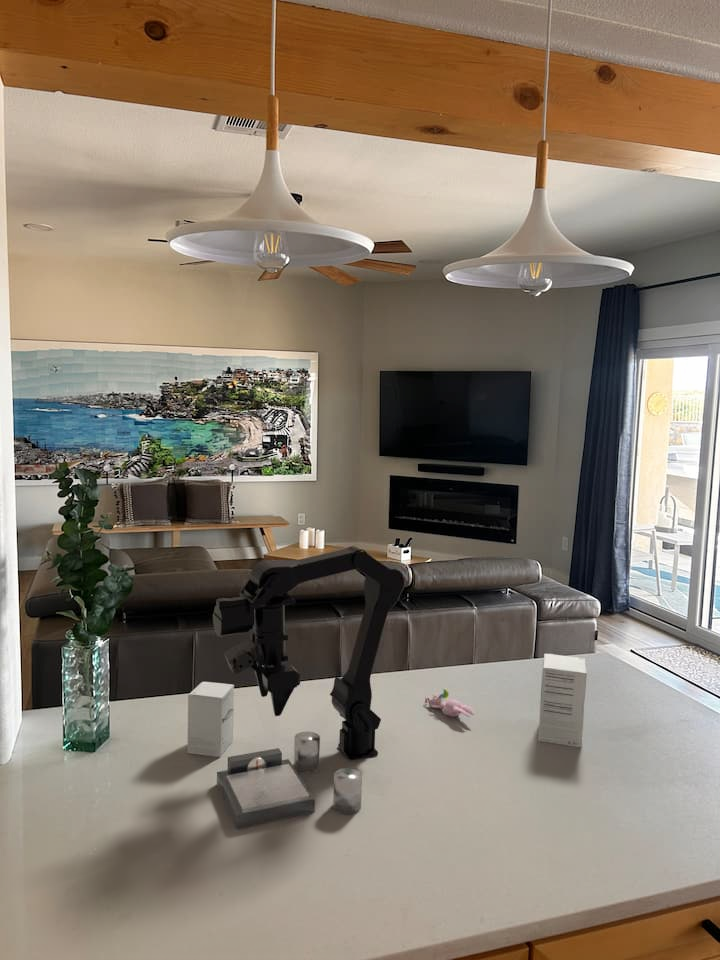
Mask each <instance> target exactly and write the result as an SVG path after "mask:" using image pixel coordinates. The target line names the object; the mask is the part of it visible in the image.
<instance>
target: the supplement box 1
mask: <svg viewBox="0 0 720 960" xmlns="http://www.w3.org/2000/svg"><path fill="white" fill-rule="evenodd" d="M234 693H235V684H231V683H230V684H229V683H222V682H211V681H202V682H200V683H199V684H198V685H197V686H196V687H195V688H194V689H193V690H192V691H191V692H189V694H188V695H187V750H186V751H187V754H193V755H201V756H205V757H214V758H221V756H222V755H223V754H224V752H225V751H226V749H228V747H229V746H230V745H231V744H232V742H233V741H234V711H235V709H234V708H235V707H234V706H235V705H234V701H235V700H234V699H235V694H234Z"/></svg>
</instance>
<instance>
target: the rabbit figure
mask: <svg viewBox="0 0 720 960" xmlns="http://www.w3.org/2000/svg"><path fill="white" fill-rule="evenodd" d="M442 691H443V693H440V695H439V696H437V695H435V696H434V695H433V694H432V698H429V697H426V696H425V697H424V698H425V699H424V702H423V703H424V704H425V705H426V704H427V703H428V706H429V707H430V709H440V710H442V713H443V715H445V716H448V717H457V716H460V715H461V714H462V715H464V716H466V717H468V718H469V717H470V715H472V716H475V712H474V709H473V708H472V707H471V706H469V705H464V704H462V703H461V702H460V701H458V700H456V699H450V700H448V701H447V702H445V699H446V698H448V697H449V691H448V690H447V689H445V688H442Z"/></svg>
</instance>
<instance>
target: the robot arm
mask: <svg viewBox="0 0 720 960" xmlns="http://www.w3.org/2000/svg"><path fill="white" fill-rule="evenodd" d="M354 570H355V571H356V572H357V573H358V574H360V576H363V578H364V585H363V593H364V599H365V607H364V609H363V613H362V617H361V621H360V625H359V628H358V632H357V636H356V639H355V642H354V646H353V649H352V650H353V651H352V654H351V657H350V661H349V666H348V669H347V671H346V673H344V674H343V675H342V677H339V676H335V678H334V681H333V687H332V689H331V692H330V693H329V695H330V697H331V705H332V706H333V708H334V709H335V711H337V712H338V714H339V716H340V717H341V718H343V719H344V720H342V722H341V729H339V740H338V741H339V743H338V745H337V746H338V748H339V749H340V750H341V752H342V753H343V754H344V755H345V756H346V758H347V759H348V760H350V761H353V760H358V759H363V758H368V757H373V756H378V755H379V752H378V750H377V749H376V748H375V744H376V730H378V729H379V727H380V724H381V721H382V719H381V717H379V715H377V714H376V713H375V712H374V711H373V710H372V709H371V706H372V699H373V694H372V686H371V676H372V672H373V669H374V665H375V661H376V657H377V654H378V650H379V647H380V643H381V640H382V636H383V633H384V629H385V624H386V621H387V618H388V615H389V611H390V610H391V609H392V608H393V607H394V606H395V605H396V604H397V602H398V601H399V599H400V597H401V595H402V592H403V591H404V588H405V584H406V583H405V582H406V579H405V577H404V575H403V573H402V572H401V571H400V570H398V569H397V568H394V567H392V566H391V565H390V566H389V565H387V564H385V563H383V562H380V561H379V560H377V559H376V558H374V557H373V556H371V555H370V554H369V553H368V552H367V551H366V550H364V549H363V548H360V547H357V546H355V545H354V546H353V545H351V546H348V547H346V548H344V549H340V550H339V549H338V550H334V551H330V552H326V553H321V554H317V555H314V556H308V557H304V558H301V559H295V560H294V559H293V560H288V559H270V560H269V559H267V560H261V561H258V562H257V563H255V564H254V566H253V567H252V569H251V571H250V575H249V576H250V577H249V578H248V579H247V581H246V583H245V584H244V586H243V587H242V589H241V591H239V596H237V597H229V598H227V597H221V598H217V599H216V600H215V601H216V603H215V606H214V610H213V613H212V623H213V629H214V632H215V634H216V636H217V637H226V636H231V635H239V634H245V633H249V631H250V630H252V631H251V633H249V634H250V635H249V636H250V639H249V640H246V641H243V642H241V643H239V644H236V645H235V646H233V647H230V648H229V649H227V650H226V651H224V653H223V655H224V658H225V660H226V662H227V664H228V667H229V669H230V670H231V672H232V673H233V674H234V675H238V674H240V673H242V672H244V671H245V670H248V669H249V668H251V669H253V670H254V671H253V672H254V674H255V678H256V682H257V685H258V689H259V692H260V696H261V698H264V697H267V696H268V694H269V693H270V698H271V703H272V708H273V713H274V716H275V717H279V716H282V714H283V711H284V709H285V708H286V706H287V703H288V701H289V698H290V697H291V695H292V694H293V691H294V690H295V688H297V687H298V686H300V685H301V673H299V671H297V669H296V668H295V667H294V666H293V665H291V664H290V663H287V664H283V663H282V662H289V655H288V654H287V653H286V641H288V639H289V634H288V633H287V632H286V631H285V629H286V628H285V625H286V623H285V619H286V618H285V606H286V605H287V606H288V605H293V604H295V603H296V600H295V599H294V598H292V597H291V595H290V594H289V593H288V592H291V591H293V590H294V589H295V588H296V587H298V586H299V585H301V584H302V583H303V584H304V583H305V582H309V581H313V580H318V579H321V578H326V577H330V576H334V575H337V574H342V573H347V572H350V571H354ZM257 591H258V592H257ZM253 628H254V630H253Z"/></svg>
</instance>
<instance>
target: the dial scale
mask: <svg viewBox="0 0 720 960" xmlns="http://www.w3.org/2000/svg"><path fill="white" fill-rule="evenodd" d="M216 785H217V787H218V790H219V792H220V795H221V797H222V799H223V801H224V803H225V806H226V808H227V810H228V812H229V815H230V816H231V819H232V821H233V824H234V826H235V828H236V829H242V828H248V827H253V826H256V825H262V824H265V823H270V822H274V821H279V820H283V819H288V818H292V817H297V816H298V817H299V816H302V815H307V814H311V813H315V811H316V808H315V807H316V798H315V797H314V795H313V794H312V792H311V790H310V789H309V788H308V787H307V784H306V783H305V781H304V780H303V779H302V777H301V776H300V774H299V773H298V771H297V770H296V769H295V768H294V764H292V762H291V760H290V759H288V758H286V759H283V752H282V751H281V749H280V747H277V748H273V749H272V748H271V749H267V750H265V749H264V750H261V751H256V752H250V753H249V752H248V753H244V754H238V755H231V756H227V770H222V771H216Z"/></svg>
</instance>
